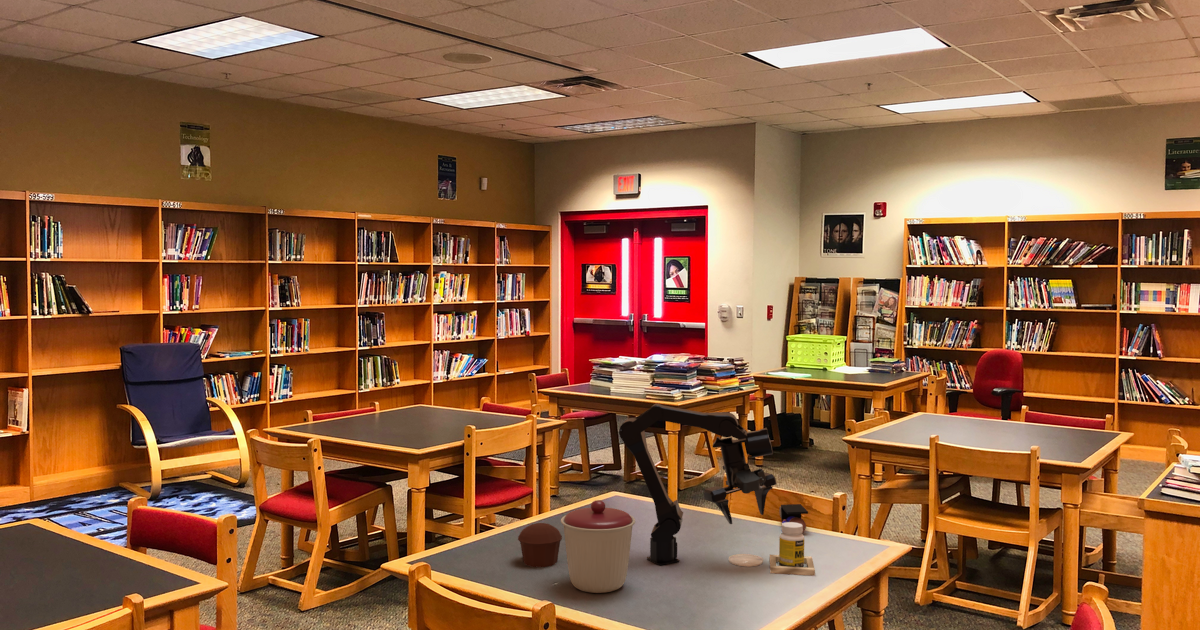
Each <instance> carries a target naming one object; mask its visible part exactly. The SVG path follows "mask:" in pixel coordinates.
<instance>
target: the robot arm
mask: <svg viewBox="0 0 1200 630" xmlns="http://www.w3.org/2000/svg"><path fill="white" fill-rule="evenodd" d="M657 421H662V422H668V423H672V424H678V425H684V426H689V427H695V428H700V429H703V430H705V431H708V432H710V433H712V434H714V435H717V436H716V438H715V440H714V442H713V443H712V448H713V449H714V448H720V451H721V457H722V461H723V465H722V470H723V471H725V475H726V476H725V477H726V481H725V485H726V486H725V487H724V486H723V487H722V486H719V485H715V486H711V487H707V488H704V492H703V497H704V500H705V501H707V502H710V503H712V504H715V506H716V507H718V509H719V510H720V512H721V513H722V514H723V516H724V518H725V519H726V520H727V522H728V524H730V525H732V524H733V519H732V514H731V511H730V507H729V499H727V495H731V494H734V493H737V492H740V491H741V492H742V493H743V494H747V495H748V494H750V493H751V492H752V493H753V492H754V495H755V499H756V504H757V508H758V511H759V514H760V516H764V515H765V514H764V513H765V507H766V499H767V497H768V493H769V492H770V490H772V489H773V488H774V487H773V486H776V485H777V479H776V476H775V475H774V474H773V473H770V472H766V471H764V470H763V468H758V469H755V470H751V468H750V465H749V463H748V462H746V461H747V460H746V458H745V456H746V455H748V456H751V458H753V459H754V458H757V457H758V458H759V457H765V456H769V455H773V454H774V453H773V447H772V442H771V439H770V437H769V436H770V435H769V432H768V428H767V427H765V428H761V429H759V430H753V431H747V430H746V429H745V428H744V427H743V426H741V425H740V424H739V422H738V418H737V417H736V415H735V414H734V413H732V412H725V411H715V412H712V411H711V412H701V411H696V410H690V409H686V408H679V407H673V406H668V405H663V404H661V403H655V404H653V405H652V406H650V407H649V408H648V409H646V410H645V411H644V412H642V413H641V414H639V415H638V416H636V417H629V418H627V419H626V420H624V422H623V423H622V424H621V425H620V427H619V430H618V435H619V437H620V439H621V440H622V442H623V443H624V446H626V448H627V449H628V450H629V452H631V454H632V455H633V456H634V459H635V461H636V464H637V466H638V468H639V471H640V472H641V475H642V478H643V480H644V482H645V484H646V487H647V489H648V492H649V494H650V496H651V499H652V502H653V503H654V508H655V509H654V510H655V515H656V519H657V522H656V523H655V524H654V526H653V528H652V531H651V533H650V536H651V537H650V540H649V541H650V542H649V543H650V544H649V545H650V546H649V547H650V548H649V549H650V550H649V556H647V557H646V560H648V561H650V562H652V563H654V564H656V565H658V566H662V565H668V564H674V563H679V562H680V559H678V542H677V537H676V536H675V535H677V534H678V533H679V532H680V530H681V527H682V523H683V516H684V511H682V509H681V507H680V505H679V500H678V499H676V500H674V501H673V500H672V499H671V498H670V497H669V495H668V492H667V491H666V490H667V489H666V488H665V486H664V483H663V481H662V479H661V477H660V474H659V472H658V469H657V467H656V465H655V463H654V460H653V458H652V455H651V453H650V451H649V449H648V448H649V447H648V444H647V443H648V442H647V437H646V433H645V431H646V430H647V429H648V428H650V426H653V424H655V423H656V422H657ZM719 436H720V437H719ZM721 437H723V438H721ZM733 438H734V439H733ZM743 443H744V446H743ZM743 447H744V448H745V451H744V448H743ZM745 453H746V455H745Z"/></svg>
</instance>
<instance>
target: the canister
mask: <svg viewBox="0 0 1200 630" xmlns="http://www.w3.org/2000/svg"><path fill="white" fill-rule="evenodd" d="M560 523H561V524H562V525H563V532H564V533H563V534H564V542H565V551H566V560H567V561H566V563H567V567H568V576H569V579H570V582H571V584H572V585H573V586H574V588H576V589H577V590H579V591H582V592H585V593H595V594H603V593H610V592H615V591H617V590H619V589H620V588H621V587H622V586H623V585H624V583H625V582H626V579H627V574H628V568H629V562H630V554H631V553H630V552H631V544H632V543H631V542H632V535H633V526H634V525H635V523H636V518H635V517H634V516H633V515H631V514H629V513H628V512H626V511H625V510H621V509H618V508H612V507H606V503H605V502H604V501H603V500H601V499H600V500H599V499H597V500H593V501H591V503H590V507H583V508H579V509H574V510H571V511H570V512H568V513H567V514H564V516H562V517H561V519H560Z"/></svg>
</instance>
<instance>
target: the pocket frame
mask: <svg viewBox="0 0 1200 630" xmlns="http://www.w3.org/2000/svg"><path fill="white" fill-rule="evenodd" d="M777 563H779V554H769V569H770V570H769V571H770V574H779V575H780V574H781V575H795V576H796V575H799V576H813V577H814V576H816V575H815V574H816V573H815V571H816V569H815V565H814V561H813V556H805V555H804V565H806V566H804V567H788V566H779V565H777Z"/></svg>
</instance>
